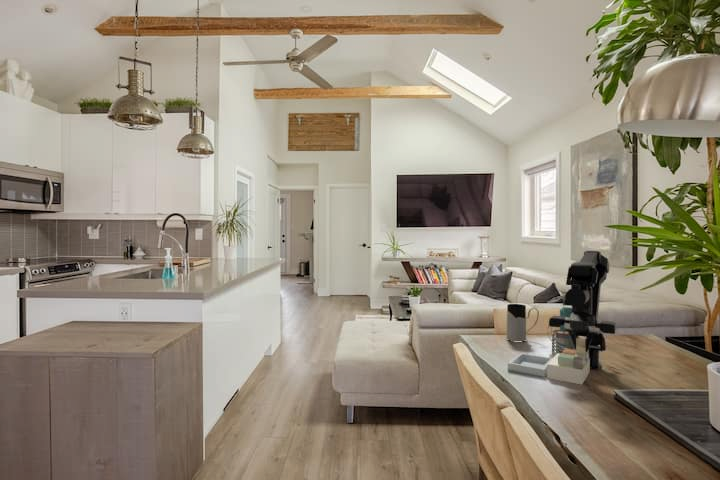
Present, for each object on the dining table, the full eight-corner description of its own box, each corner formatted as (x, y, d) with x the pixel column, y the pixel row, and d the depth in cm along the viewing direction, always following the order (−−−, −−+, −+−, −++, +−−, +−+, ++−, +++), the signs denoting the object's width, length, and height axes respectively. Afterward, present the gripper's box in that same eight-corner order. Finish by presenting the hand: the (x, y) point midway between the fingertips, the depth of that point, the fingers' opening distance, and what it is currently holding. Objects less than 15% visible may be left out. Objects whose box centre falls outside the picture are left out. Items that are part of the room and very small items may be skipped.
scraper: (580, 356, 142) (580, 332, 142) (588, 357, 140) (589, 333, 140) (573, 367, 131) (573, 341, 130) (582, 368, 129) (582, 343, 129)
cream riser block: (557, 366, 147) (557, 353, 147) (589, 371, 141) (589, 358, 141) (547, 378, 135) (547, 364, 135) (582, 384, 129) (582, 370, 129)
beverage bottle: (580, 351, 164) (581, 300, 164) (563, 351, 164) (563, 300, 164) (572, 347, 171) (573, 298, 170) (556, 347, 171) (556, 298, 170)
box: (520, 359, 154) (520, 352, 154) (554, 365, 147) (554, 358, 147) (507, 370, 142) (507, 363, 142) (543, 377, 135) (543, 369, 135)
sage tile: (560, 360, 138) (560, 353, 138) (575, 363, 135) (576, 355, 135) (557, 364, 134) (557, 356, 134) (573, 366, 132) (573, 359, 132)
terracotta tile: (565, 355, 144) (565, 348, 144) (579, 358, 141) (579, 350, 141) (562, 358, 140) (562, 351, 140) (577, 361, 137) (577, 353, 137)
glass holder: (502, 337, 187) (502, 303, 186) (533, 336, 188) (533, 303, 187) (510, 342, 178) (510, 307, 178) (543, 342, 179) (543, 306, 179)
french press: (564, 363, 150) (565, 293, 149) (539, 354, 161) (539, 289, 160) (584, 360, 154) (585, 291, 153) (558, 351, 164) (559, 288, 164)
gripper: (545, 303, 134) (544, 352, 134) (613, 309, 123) (612, 362, 124) (552, 298, 143) (552, 344, 143) (616, 304, 132) (616, 353, 133)
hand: (581, 350), depth 136 cm, fingers closed on scraper, 2 cm apart
